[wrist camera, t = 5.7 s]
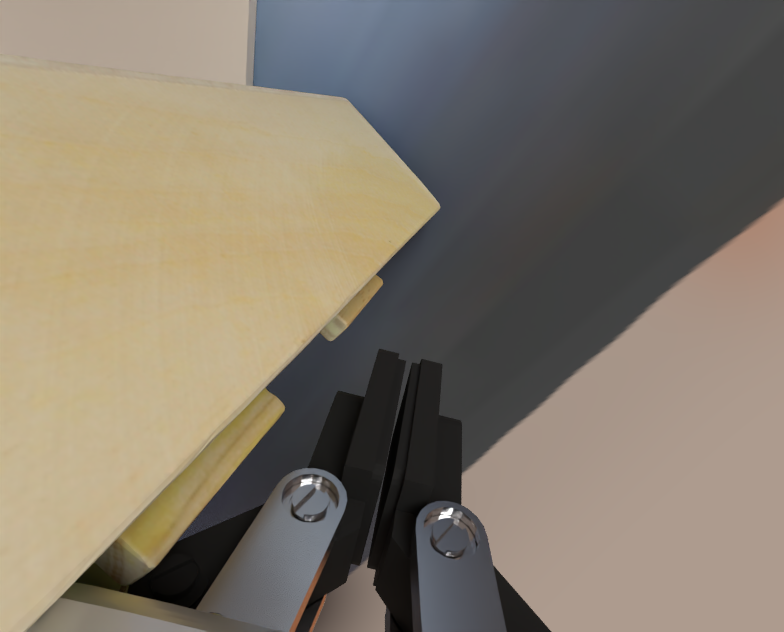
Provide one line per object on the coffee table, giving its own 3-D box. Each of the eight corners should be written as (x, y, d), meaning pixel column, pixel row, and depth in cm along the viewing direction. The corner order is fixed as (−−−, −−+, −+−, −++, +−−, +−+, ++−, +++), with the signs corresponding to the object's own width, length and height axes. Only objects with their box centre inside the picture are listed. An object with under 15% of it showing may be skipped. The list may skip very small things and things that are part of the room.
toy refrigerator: (343, 319, 25) (-191, 881, 6) (246, 215, 25) (-680, 506, 6) (455, 219, 22) (19, 793, 3) (347, 96, 21) (-1127, -168, 2)
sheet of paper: (-214, -163, 19) (-239, -171, 19) (259, -53, 19) (251, -57, 18) (-73, 273, 29) (-86, 278, 29) (239, 351, 29) (234, 358, 28)
